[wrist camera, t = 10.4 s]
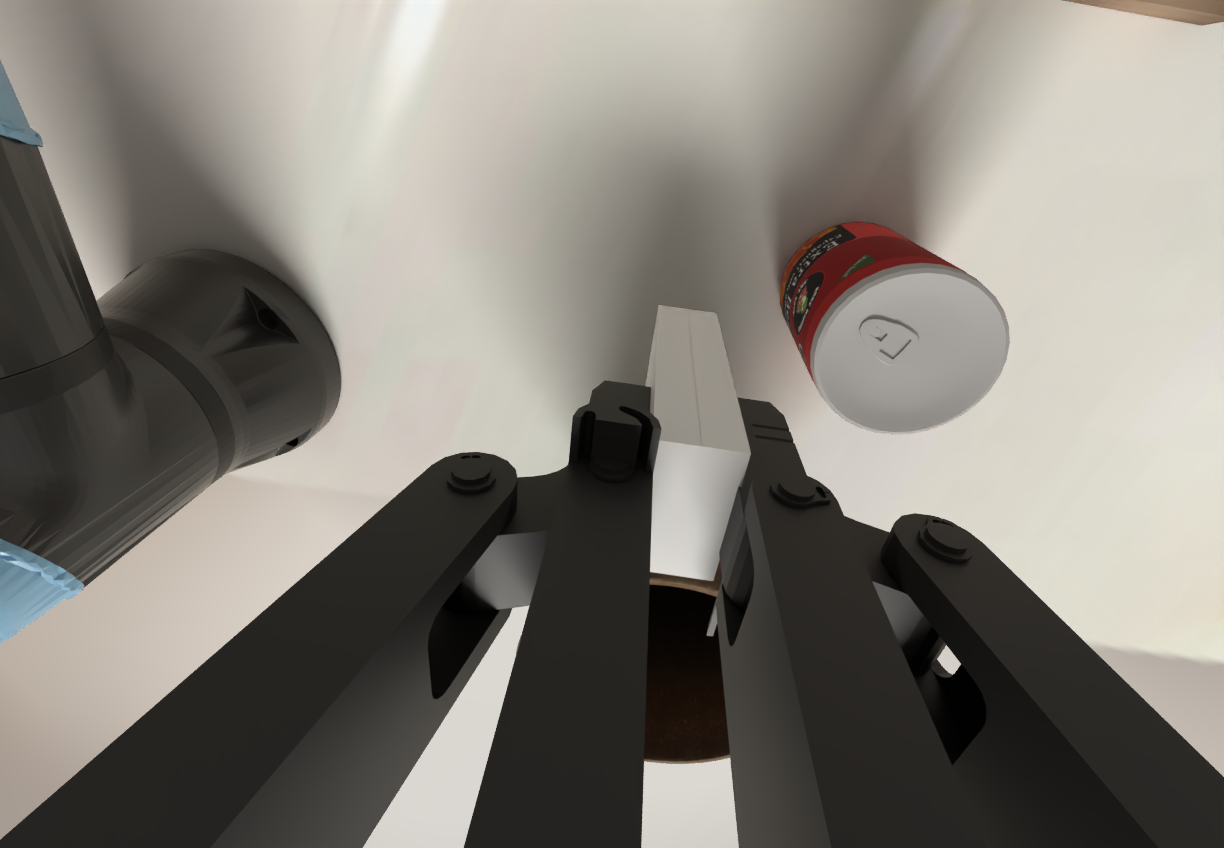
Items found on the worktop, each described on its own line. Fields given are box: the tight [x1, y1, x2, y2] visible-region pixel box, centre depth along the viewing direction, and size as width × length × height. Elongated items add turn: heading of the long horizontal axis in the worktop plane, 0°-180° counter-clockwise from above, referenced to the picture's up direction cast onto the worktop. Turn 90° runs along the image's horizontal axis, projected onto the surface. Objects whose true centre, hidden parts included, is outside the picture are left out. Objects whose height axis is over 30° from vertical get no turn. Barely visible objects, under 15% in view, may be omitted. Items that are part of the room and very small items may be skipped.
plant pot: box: [516, 560, 730, 764], centre depth 35 cm, size 15×15×16 cm
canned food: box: [780, 222, 1010, 434], centre depth 28 cm, size 8×8×11 cm
